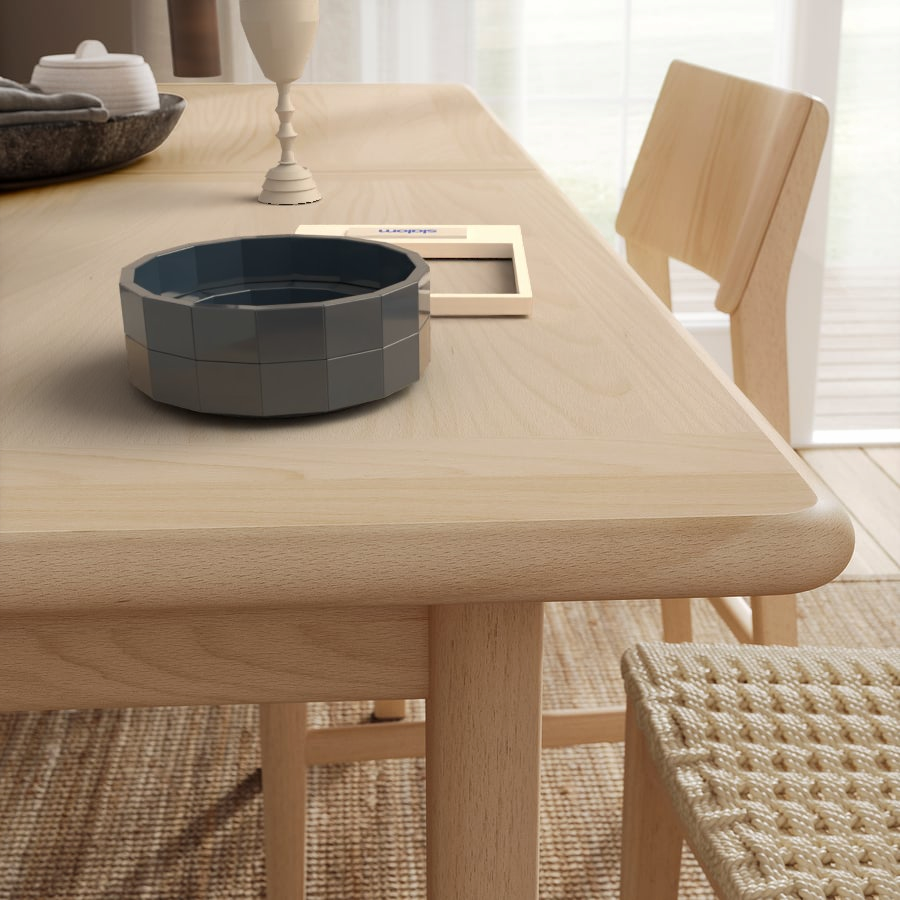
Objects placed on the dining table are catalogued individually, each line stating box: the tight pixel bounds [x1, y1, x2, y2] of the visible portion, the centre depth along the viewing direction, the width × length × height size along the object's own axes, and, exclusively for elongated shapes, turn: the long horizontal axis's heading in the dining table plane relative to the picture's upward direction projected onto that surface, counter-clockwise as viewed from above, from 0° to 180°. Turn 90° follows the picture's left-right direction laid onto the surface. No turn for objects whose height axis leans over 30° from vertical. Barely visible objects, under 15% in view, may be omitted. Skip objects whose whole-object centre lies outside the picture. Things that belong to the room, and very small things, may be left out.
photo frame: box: [293, 224, 534, 316], centre depth 70 cm, size 15×1×18 cm
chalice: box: [238, 0, 323, 205], centre depth 89 cm, size 7×7×18 cm
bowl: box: [118, 233, 432, 419], centre depth 52 cm, size 13×13×5 cm
